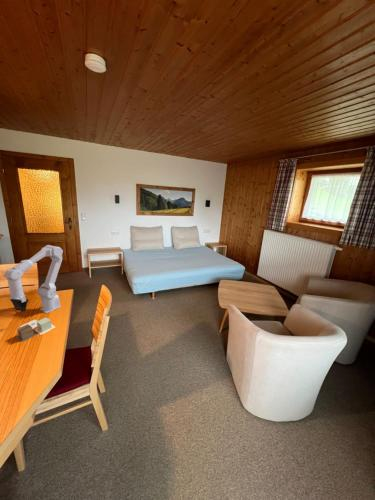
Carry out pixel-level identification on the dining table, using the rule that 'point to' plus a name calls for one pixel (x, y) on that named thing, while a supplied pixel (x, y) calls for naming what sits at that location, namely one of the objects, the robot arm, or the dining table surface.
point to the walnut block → (25, 332)
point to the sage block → (44, 324)
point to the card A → (31, 324)
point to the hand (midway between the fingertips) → (20, 308)
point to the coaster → (26, 338)
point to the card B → (44, 331)
